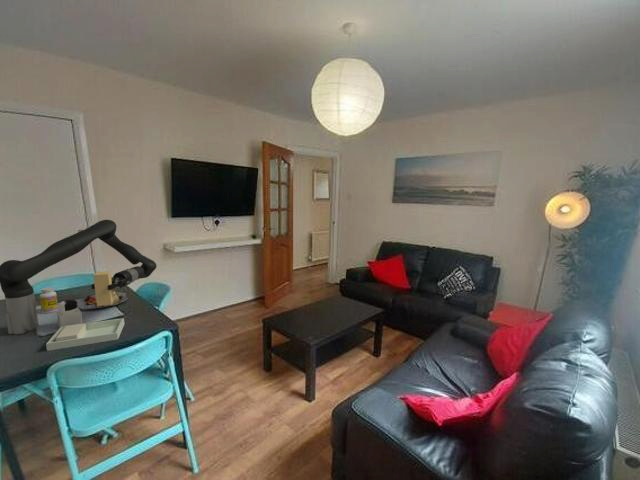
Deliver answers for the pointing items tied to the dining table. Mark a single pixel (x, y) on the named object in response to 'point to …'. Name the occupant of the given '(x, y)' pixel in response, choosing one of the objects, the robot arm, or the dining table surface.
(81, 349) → the dining table surface
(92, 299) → the food plate
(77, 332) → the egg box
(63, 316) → the container
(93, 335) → the tray
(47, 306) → the supplement bottle
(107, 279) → the juice carton
